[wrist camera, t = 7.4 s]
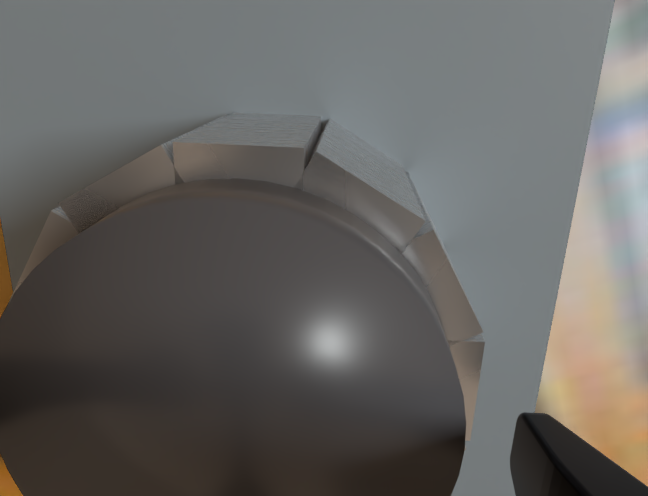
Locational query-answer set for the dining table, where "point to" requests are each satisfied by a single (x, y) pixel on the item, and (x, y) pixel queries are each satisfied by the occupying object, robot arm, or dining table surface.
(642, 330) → the dining table surface
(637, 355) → the dining table surface
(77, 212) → the faceted ring
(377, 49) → the mount plate
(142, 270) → the knob
